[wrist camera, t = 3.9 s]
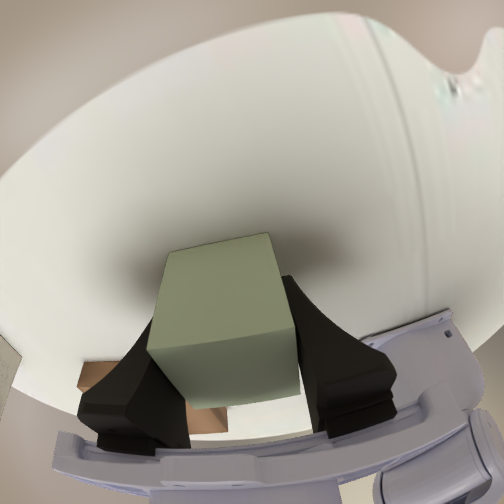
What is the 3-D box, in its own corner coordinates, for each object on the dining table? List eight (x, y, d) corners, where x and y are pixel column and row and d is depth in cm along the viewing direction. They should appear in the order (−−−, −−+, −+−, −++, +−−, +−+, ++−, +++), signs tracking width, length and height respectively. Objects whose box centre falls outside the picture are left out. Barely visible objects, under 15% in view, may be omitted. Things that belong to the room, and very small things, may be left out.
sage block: (268, 232, 13) (294, 326, 8) (279, 305, 16) (300, 394, 11) (169, 252, 13) (146, 349, 8) (197, 319, 16) (194, 409, 11)
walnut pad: (193, 349, 19) (192, 385, 16) (226, 405, 24) (228, 432, 22) (85, 357, 19) (76, 386, 16) (138, 409, 24) (135, 433, 22)
